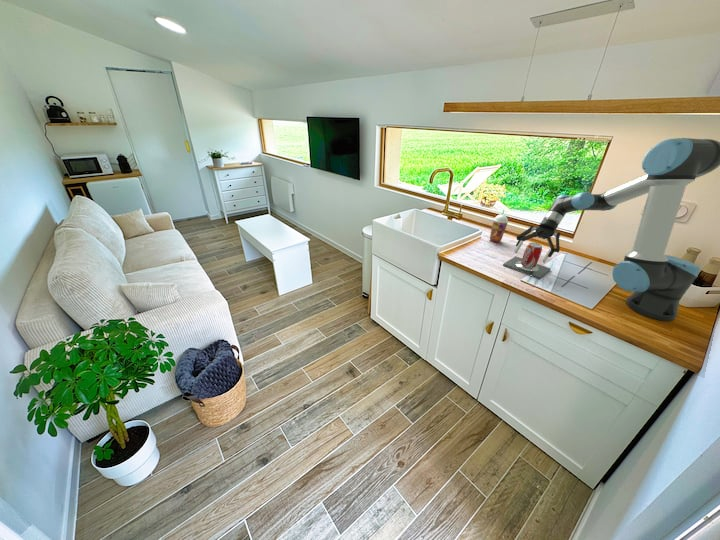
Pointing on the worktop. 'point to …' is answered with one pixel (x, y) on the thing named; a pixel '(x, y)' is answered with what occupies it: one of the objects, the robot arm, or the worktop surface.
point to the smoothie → (498, 228)
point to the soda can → (531, 255)
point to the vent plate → (535, 272)
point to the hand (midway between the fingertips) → (529, 256)
